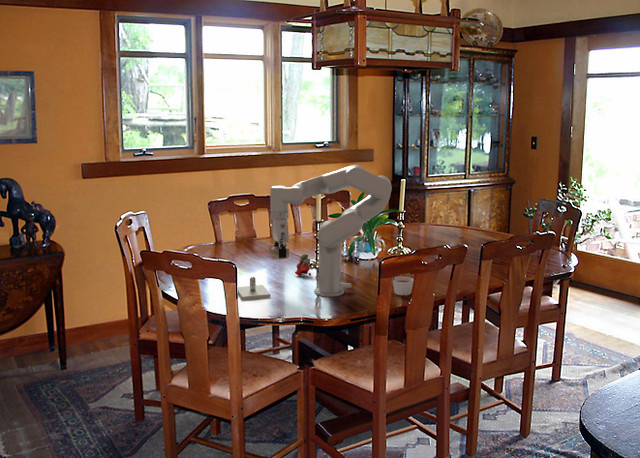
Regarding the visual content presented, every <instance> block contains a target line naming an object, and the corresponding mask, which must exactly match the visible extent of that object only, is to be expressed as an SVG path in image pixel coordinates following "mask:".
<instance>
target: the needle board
mask: <svg viewBox="0 0 640 458" xmlns="http://www.w3.org/2000/svg"><path fill="white" fill-rule="evenodd" d="M256 281H257V280H256V276H251V277H250V278H249V285H248V286H247V285H246V286H245V285H244V286H237V287H238V293H237V294H238V296H239V297H240V300H242V301H249V300H250V301H251V300H260V299H270V298H271V293H270V291H268V289H267V288H266V287H265V286H264V285H263V284H258V285H257V284H256Z"/></svg>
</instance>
